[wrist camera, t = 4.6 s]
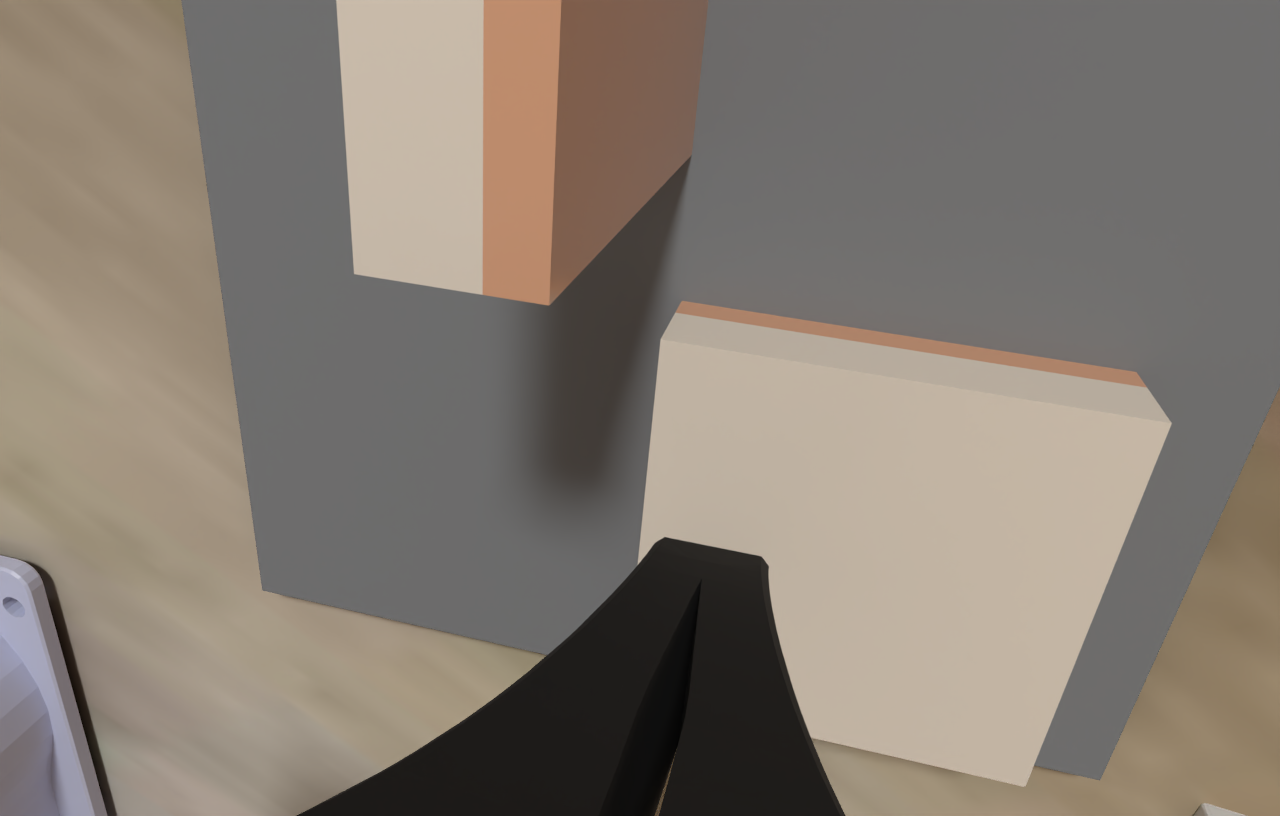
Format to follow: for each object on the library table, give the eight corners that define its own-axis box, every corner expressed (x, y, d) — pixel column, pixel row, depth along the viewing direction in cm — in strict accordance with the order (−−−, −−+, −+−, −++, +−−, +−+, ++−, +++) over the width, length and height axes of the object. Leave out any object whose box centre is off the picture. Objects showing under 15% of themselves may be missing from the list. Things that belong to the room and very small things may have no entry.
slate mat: (1091, 751, 15) (1099, 780, 14) (280, 571, 17) (263, 590, 17) (1674, -568, 8) (1733, -608, 7) (139, -566, 10) (100, -595, 10)
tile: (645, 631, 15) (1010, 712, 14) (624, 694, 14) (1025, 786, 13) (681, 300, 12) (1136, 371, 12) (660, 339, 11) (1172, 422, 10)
